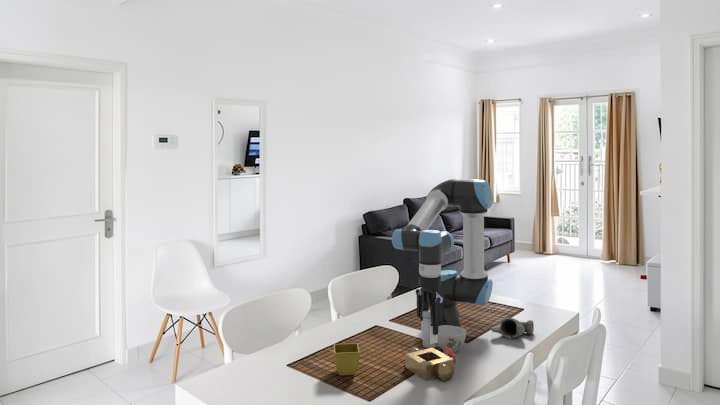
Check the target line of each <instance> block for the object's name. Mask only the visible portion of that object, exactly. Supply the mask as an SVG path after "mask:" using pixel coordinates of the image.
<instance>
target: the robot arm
mask: <svg viewBox="0 0 720 405" xmlns="http://www.w3.org/2000/svg"><path fill="white" fill-rule="evenodd" d="M492 206H493V191H492V187H491V185H490V183H489V182H488V181H486V180H483V179H456V178H455V179H454V178H453V179H448V180H445V181H443V182H440V183H438V184H437V185H435V186H434V187H433V188H432V189H431V190H430V191H429V192H428V194H427V195H426V199H425V201H424V202H423V204H422V205H421V206H420V208H419V209H418V210H417V212H415V214H414V216H412V218H411V219H410V221H409V222H408V224H407V225H406V226H405V227H404V229H402V228H399V229H398V228H397V229H395V230H394V231H393V233H392V235H391V243H392V246H393V248H395V249H397V250H402V251H411V252H418V257H419V258H418V259H419V260H418V263H419V266H418V273H419V275H418V286H419V287H420V288H418V289H415V295H416V317H417V318H419V320H420V330H421V332H420V334H421V335H420V336H421V340H423V317H422V314H423V311H424V310H430V314H431V322H432V324H430V344H434V343H436V344H437V343H438V326H443V325H451V326H458V327H460V325H461V322H462V321H461V320H462V318H461V316H460V315H461V314H460V312H459V309H458V303H463V304H469V305H475V306H486V305H487V304H488V302H489V301H490V298H491V296H492V292H493V285H494V284H493V279H491V278H489V273H488V272H487V271H486V270H485V215H486V214H487V213H488V209H490V208H491V207H492ZM448 207H449V208H450V207H455V208H458V210H459V211H458V212H459V214H461V216H462V237H463V238H462V239H463V244H462V246H463V270H462V271H461V272H460V273H459V275H458V271H457V270H453V269H452V270H451V269H448V270H446V269H445V270H442V255H443V254H445V253H448V252H449V251H451V249H452V248H453V247H454V245H455V237H454V236H453V234H452V233H450V232H449V231H446V230H443V231H441V230H436V229H430V227H431V226H432V224H433V223H434V222H435V221H436V219H437V218H438V216H439V215H440V213H441V212H442V211H445V210H446V209H447V208H448Z"/></svg>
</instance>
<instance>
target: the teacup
mask: <svg viewBox="0 0 720 405" xmlns="http://www.w3.org/2000/svg"><path fill="white" fill-rule="evenodd" d="M467 332H468V331H467V329H466V328H465V327H462V326H451V325H443V326H438V343H436V346H435V347H434V348H437V347H438V348H440V349H441V350H442V352H443V351H444V349H447V348H450V349H452V350H453V352H454V353H456V352H458V350H459V349H461V348H462V347H463V345H464V343H465V340H466V337H467Z"/></svg>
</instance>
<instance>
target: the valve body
mask: <svg viewBox="0 0 720 405" xmlns="http://www.w3.org/2000/svg"><path fill="white" fill-rule="evenodd" d="M404 358H405V360H404V361H405V362H404V363H405V364H404V365H405V367H404V368H405V369H407V370H408V371H409V372H411V373H413V374H415V375H416V376H418V377H419V378H421V379H422V380H424V381H430V380H432V379H433V380H434V379H435V378H438V379H440V380H442V381H444V382H449V381H450V380H451V379H452V378H453V375H454V371H455V370H454V368H455V367H454V366H455V364H456V362H457V361H456V360H457V358H456V354H455V352H453V350H452V349H450V348H447V349H444V351H443V350H442V352H441V351H440V350H438V349H436V348H435V347H432V348H425V349H419V348H418V347H415V346H412V347H410V348H409V349H408V350H407V353H405V355H404Z"/></svg>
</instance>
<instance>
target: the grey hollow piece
mask: <svg viewBox="0 0 720 405" xmlns="http://www.w3.org/2000/svg"><path fill="white" fill-rule="evenodd" d="M534 329H535V328H534V321H533V320H532V319H529V320H527V321H519V320H518V319H517V318H513V317H505V318H503V319H501V320H500V321H499V322H498V323H497V324H496V325H495V326H494V325H493V326H492V327H491V328H490V330H491V332H493V333H498V334H500V335H502V336H503V337H505V338H507V339H511V340H512V339H514V338H517V337H520V336H521V335H523V334H524V333H525V334H527V335H529V336H533V334H534Z"/></svg>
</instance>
